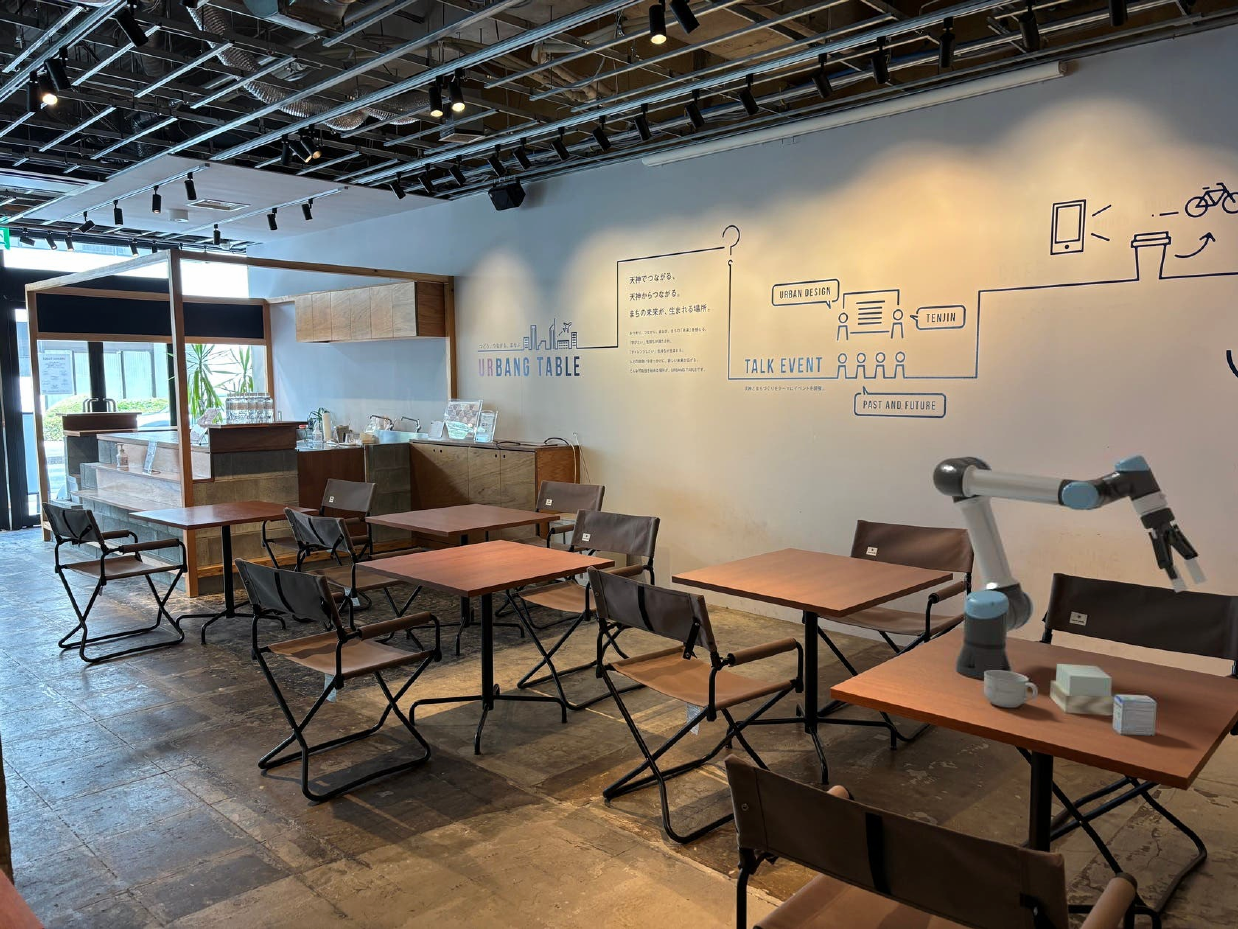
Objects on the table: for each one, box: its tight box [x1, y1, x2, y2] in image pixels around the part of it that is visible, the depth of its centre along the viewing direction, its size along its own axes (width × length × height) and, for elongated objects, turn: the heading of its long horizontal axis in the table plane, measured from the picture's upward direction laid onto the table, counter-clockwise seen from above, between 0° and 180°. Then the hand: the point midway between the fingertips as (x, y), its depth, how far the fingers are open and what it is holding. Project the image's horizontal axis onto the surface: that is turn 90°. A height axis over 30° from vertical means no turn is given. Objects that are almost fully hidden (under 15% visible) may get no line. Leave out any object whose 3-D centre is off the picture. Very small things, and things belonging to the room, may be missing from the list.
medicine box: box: [1112, 693, 1157, 737], centre depth 212 cm, size 8×4×9 cm, turn 84°
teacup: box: [983, 670, 1039, 709], centre depth 229 cm, size 14×11×8 cm
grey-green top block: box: [1055, 663, 1113, 697], centre depth 229 cm, size 10×10×5 cm
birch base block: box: [1049, 680, 1115, 716], centre depth 230 cm, size 12×12×5 cm
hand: (1191, 586), depth 228 cm, fingers open, 13 cm apart
